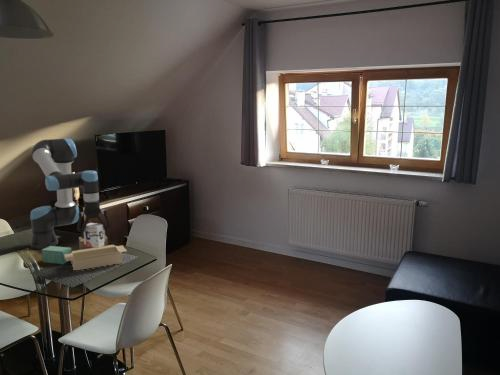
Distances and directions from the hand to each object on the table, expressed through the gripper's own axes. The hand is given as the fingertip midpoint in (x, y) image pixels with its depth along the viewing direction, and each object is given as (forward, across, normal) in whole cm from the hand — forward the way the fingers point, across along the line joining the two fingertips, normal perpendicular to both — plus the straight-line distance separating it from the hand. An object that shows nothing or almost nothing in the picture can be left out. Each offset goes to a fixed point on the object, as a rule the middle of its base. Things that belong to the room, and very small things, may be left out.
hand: (94, 242), depth 219 cm
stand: (+12, +1, +15) cm, 19 cm away
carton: (+12, 0, 0) cm, 12 cm away
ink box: (+2, 0, 0) cm, 2 cm away
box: (+12, -18, +14) cm, 26 cm away
